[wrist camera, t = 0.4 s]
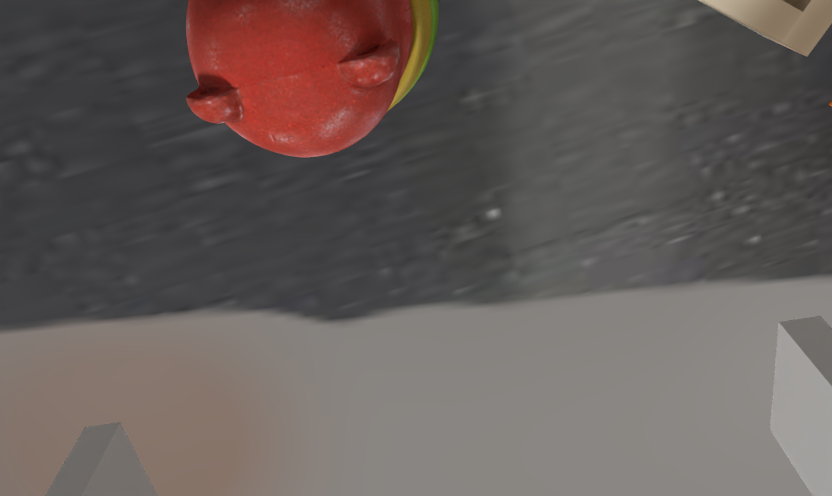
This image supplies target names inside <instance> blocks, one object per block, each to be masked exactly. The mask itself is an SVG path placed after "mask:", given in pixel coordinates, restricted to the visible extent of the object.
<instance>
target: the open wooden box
mask: <svg viewBox="0 0 832 496" xmlns="http://www.w3.org/2000/svg"><path fill="white" fill-rule="evenodd" d="M697 1H699V2H701V3H703V4H705V5H707V6H709V7H710V8H712V9H714V10H716V11H718V12H720V13H721V14H723V15H725V16H727V17H729V18H731V19H732V20H734V21H736V22H738V23H740V24H742V25H744V26H745V27H747V28H749V29H751V30H753V31H755V32H756V33H758V34H760V35H762V36H764V37H766V38H768V39H770V40H772V41H774V42H777V43H779V44H781V45H783V46H785V47H787V48H789V49H792V50H794V51H796V52H798V53H800V54H802V55H805V56H808V55H809V54H810V52H811V51H812V49H813V48H814V47H815V45H816V44H817V43H818V41H819V40H820V38H821V37H822V36H823V34H824V33H825V32H826V30H827V29H828V28H829V26H830V25H831V23H832V0H697Z"/></svg>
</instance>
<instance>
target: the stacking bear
mask: <svg viewBox="0 0 832 496" xmlns="http://www.w3.org/2000/svg"><path fill="white" fill-rule="evenodd" d="M438 15H439V12H438V0H189V2H188V9H187V18H186V35H187V42H188V51H189V56H190V60H191V65H192V68H193V71H194V74H195V76H196V79H197V82H198V84H199V88H198V89H197V90H195V91H194V92H191V93H190V94H189V95H188V96H187V98H186V99H187V103H188V105H189V107H190V108H191V110H192V111H193V112H194V113H195V114H196V115H197V116H198V117H200V118H201V119H203V120H205V121H208V122H211V123H218V124H220V123H226V124H227V125H228V126H229V127H230V128H232V129H233V130H234V131H235V132H237V133H238V134H239V135H240V136H242V137H243V138H245V139H247V140H249V141H250V142H252V143H254V144H256V145H258V146H260V147H262V148H264V149H267V150H270V151H273V152H277V153H281V154H284V155H289V156H295V157H315V156H322V155H327V154H331V153H334V152H337V151H340V150H342V149H344V148H347V147H349V146H351V145H352V144H354V143H356V142H357V141H359V140H360V139H362V138H363V137H365V136H366V135H367V134H368V133H369V132H370V131H371V130H372V129H373V128H374V127H375V126H376V125H377V124H378V123H379V122H380V120H381V119H382V118H383V116H384V115H385V114H386V112H387V111H388V110H390V109H391V108H392V107H393V106H394V105H396V104H397V103H398V102H399V101H400V100H401V99H402V98H403V97H404V96H405V95H406V94H407V93H408V92H409V91H410V90H411V88H412V87H413V86H414V85H415V83H416V82H417V80H418V79H419V78H420V76H421V74H422V72H423V71H424V69H425V67H426V65H427V63H428V60H429V58H430V55H431V53H432V50H433V46H434V43H435V39H436V34H437V27H438Z"/></svg>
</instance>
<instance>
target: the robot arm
mask: <svg viewBox="0 0 832 496" xmlns="http://www.w3.org/2000/svg"><path fill="white" fill-rule="evenodd" d="M770 423H771V424H770V430H771V432H772V434H773V435H774V437H775V438H776V440H777V441H778V443H779V444H780V446H781V448H782V449H783V451H784V452H785V454H786V455H787V457H788V458H789V460H790V461H791V463H792V465H793V466H794V467H795V469H796V471H797V472H798V474H799V475H800V477H801V478H802V480H803V481H804V483H805V485H806V486H807V488H808V489H809V491H810V492H811V494H812V495H813V496H832V328H831V327H830V326H829V325H828V324H827V323H826V321H825V320H824V319H823V318H822V317H821V316H816V317H810V318H803V319H797V320H790V321H783V322H779V326H778V339H777V351H776V362H775V374H774V387H773V398H772V411H771V422H770ZM45 496H158V495H157V493H156V491H155V489H154V487H153V485H152V483H151V481H150V479H149V477H148V475H147V473H146V471H145V469H144V467H143V465H142V464H141V462H140V459H139V458H138V456H137V454H136V452H135V450H134V448H133V446H132V444H131V442H130V440H129V438H128V436H127V434H126V432H125V430H124V428H123V426H122V424H121V422H118V423H110V424H104V425H97V426H90V427H85V428H84V430H83V431H82V433H81V435H80V437H79V438H78V440H77V442H76V443H75V445H74V447H73V449H72V450H71V452H70V454H69V455H68V457H67V459H66V461H65V462H64V464H63V466H62V467H61V469H60V471H59V473H58V474H57V476H56V478H55V480H54V481H53V483H52V485H51V486H50V488H49V490H48V492H47V493H46V495H45Z"/></svg>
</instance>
